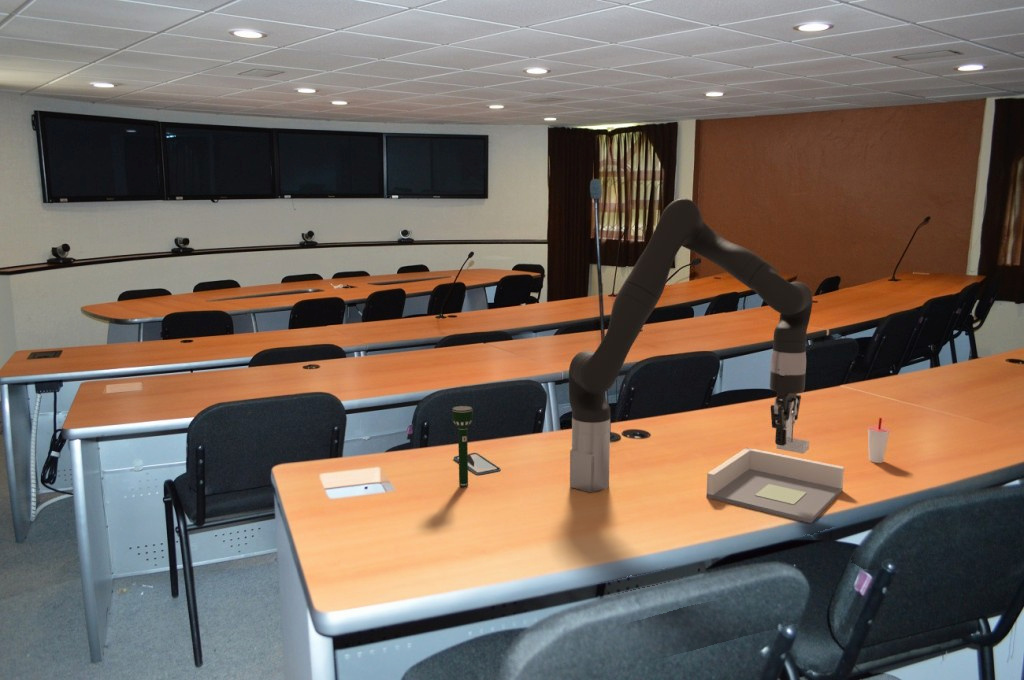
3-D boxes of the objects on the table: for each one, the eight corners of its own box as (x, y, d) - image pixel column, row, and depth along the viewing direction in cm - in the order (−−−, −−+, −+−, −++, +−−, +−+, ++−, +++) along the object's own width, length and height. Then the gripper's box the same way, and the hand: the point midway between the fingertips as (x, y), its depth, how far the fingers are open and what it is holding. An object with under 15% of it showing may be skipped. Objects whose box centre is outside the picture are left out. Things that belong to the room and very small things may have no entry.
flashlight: (457, 491, 182) (455, 411, 178) (450, 484, 186) (448, 406, 183) (477, 488, 184) (475, 409, 180) (469, 481, 188) (468, 404, 185)
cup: (889, 464, 199) (893, 421, 197) (867, 463, 200) (871, 419, 198) (884, 458, 204) (887, 415, 202) (862, 457, 205) (866, 414, 203)
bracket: (776, 448, 173) (778, 415, 172) (782, 444, 177) (784, 411, 175) (803, 453, 170) (805, 419, 168) (808, 449, 173) (810, 415, 171)
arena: (810, 523, 163) (812, 497, 162) (706, 497, 177) (707, 473, 176) (842, 490, 181) (844, 466, 180) (745, 469, 196) (746, 447, 195)
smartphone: (477, 474, 192) (452, 456, 205) (477, 478, 193) (452, 460, 205) (502, 469, 196) (476, 452, 209) (502, 472, 196) (476, 455, 209)
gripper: (782, 362, 179) (778, 432, 182) (760, 373, 168) (756, 447, 171) (814, 366, 174) (810, 437, 177) (794, 377, 163) (789, 453, 166)
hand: (783, 441), depth 174 cm, fingers closed on bracket, 4 cm apart
